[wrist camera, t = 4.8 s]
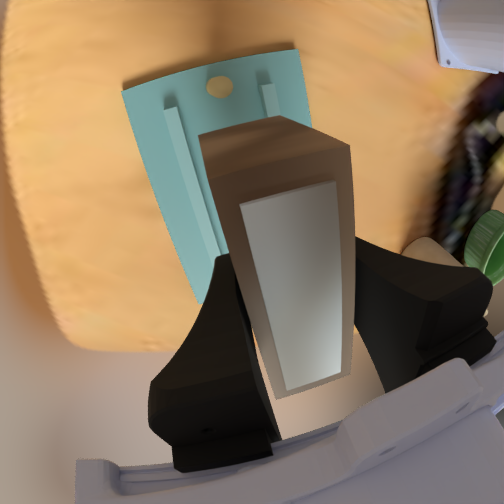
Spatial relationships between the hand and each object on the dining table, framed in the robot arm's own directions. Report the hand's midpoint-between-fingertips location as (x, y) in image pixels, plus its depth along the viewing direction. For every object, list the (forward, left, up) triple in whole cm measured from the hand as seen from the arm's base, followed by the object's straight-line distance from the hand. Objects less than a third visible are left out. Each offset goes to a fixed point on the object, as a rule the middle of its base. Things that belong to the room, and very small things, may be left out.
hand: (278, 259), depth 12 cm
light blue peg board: (0, 0, -10) cm, 10 cm away
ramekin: (-28, +13, -10) cm, 32 cm away
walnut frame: (0, 0, -3) cm, 3 cm away
